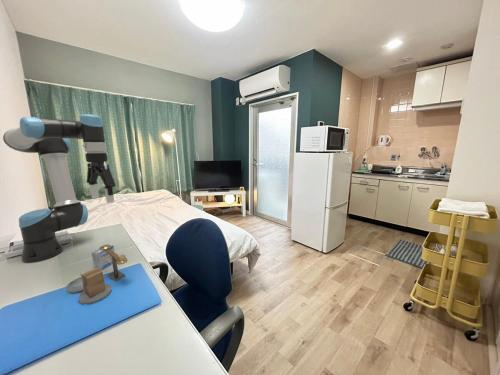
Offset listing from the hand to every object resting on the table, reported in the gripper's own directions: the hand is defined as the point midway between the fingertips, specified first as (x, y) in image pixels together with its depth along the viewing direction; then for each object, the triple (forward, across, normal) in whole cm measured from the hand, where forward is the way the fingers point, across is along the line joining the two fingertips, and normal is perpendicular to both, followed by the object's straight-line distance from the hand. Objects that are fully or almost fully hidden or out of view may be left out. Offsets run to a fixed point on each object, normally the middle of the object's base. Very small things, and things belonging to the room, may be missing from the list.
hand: (102, 200), depth 93 cm
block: (+30, +17, -14) cm, 38 cm away
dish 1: (+32, +6, -14) cm, 35 cm away
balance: (+32, +12, -4) cm, 34 cm away
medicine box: (+32, -2, -2) cm, 32 cm away
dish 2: (+32, +17, -14) cm, 39 cm away
